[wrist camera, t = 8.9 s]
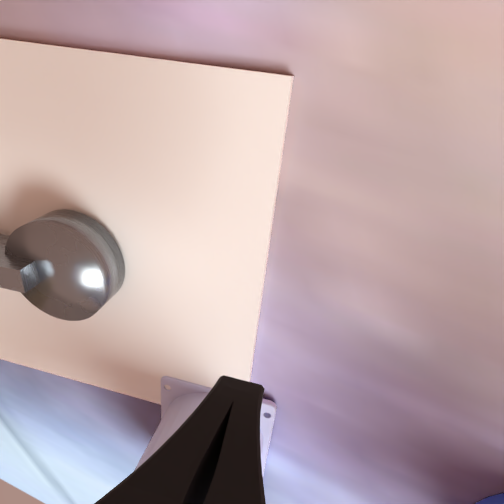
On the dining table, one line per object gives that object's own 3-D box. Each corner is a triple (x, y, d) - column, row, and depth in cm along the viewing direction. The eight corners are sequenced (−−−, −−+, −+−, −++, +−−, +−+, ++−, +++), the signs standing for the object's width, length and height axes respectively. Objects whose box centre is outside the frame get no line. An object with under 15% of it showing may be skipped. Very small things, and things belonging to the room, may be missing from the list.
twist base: (244, 422, 26) (242, 429, 26) (-25, 346, 30) (-32, 351, 29) (294, 75, 16) (292, 76, 15) (-126, 22, 20) (-139, 21, 19)
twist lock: (121, 219, 20) (84, 244, 18) (128, 309, 23) (98, 343, 20) (-78, 183, 23) (-139, 200, 20) (-49, 269, 25) (-99, 295, 23)
